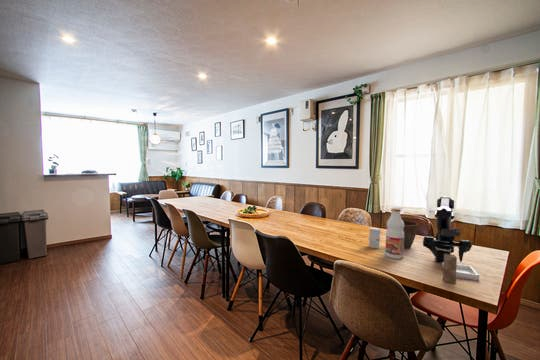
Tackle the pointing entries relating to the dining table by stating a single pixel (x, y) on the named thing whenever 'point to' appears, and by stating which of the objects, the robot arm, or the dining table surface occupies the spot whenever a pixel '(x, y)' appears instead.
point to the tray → (465, 272)
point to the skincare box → (374, 238)
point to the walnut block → (449, 268)
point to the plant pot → (409, 233)
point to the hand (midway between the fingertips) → (448, 260)
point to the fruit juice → (395, 235)
